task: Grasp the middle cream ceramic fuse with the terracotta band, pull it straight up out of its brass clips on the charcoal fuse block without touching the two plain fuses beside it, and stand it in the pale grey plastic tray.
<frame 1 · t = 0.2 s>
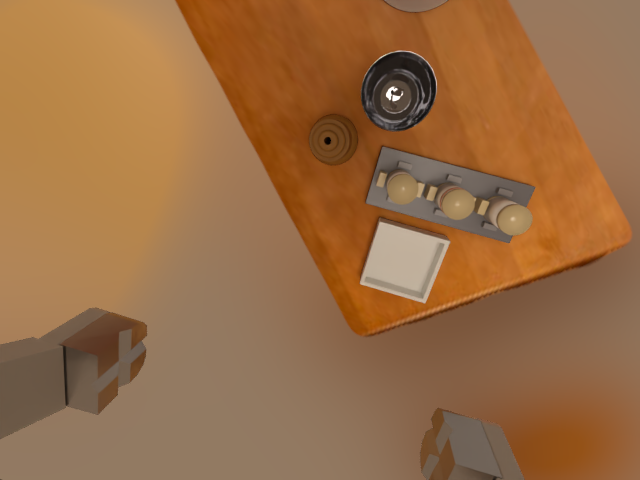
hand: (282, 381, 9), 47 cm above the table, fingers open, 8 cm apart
fuse block: (444, 193, 52), on the table
ornamental finial: (334, 140, 53), on the table
tray: (401, 257, 56), on the table
marked fuse: (446, 195, 51), point 1 cm above the table, touching fuse block
wine glass: (391, 105, 50), on the table
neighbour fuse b: (495, 208, 50), point 1 cm above the table, touching fuse block
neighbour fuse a: (398, 182, 51), point 1 cm above the table, touching fuse block
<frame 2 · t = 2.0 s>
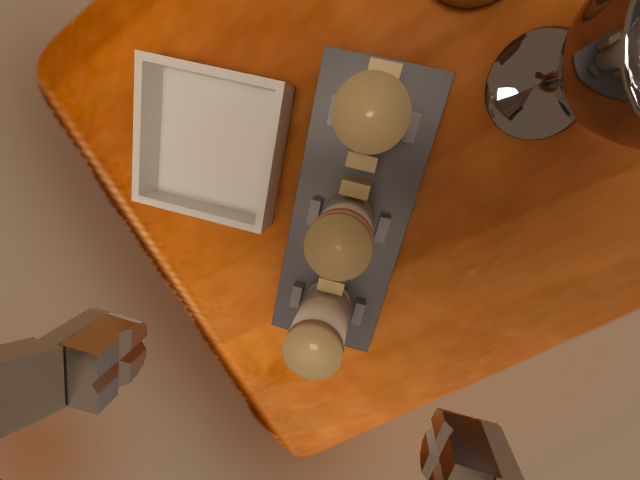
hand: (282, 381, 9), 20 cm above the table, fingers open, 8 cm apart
fuse block: (350, 214, 28), on the table
tray: (219, 145, 28), on the table
marked fuse: (348, 218, 26), point 1 cm above the table, touching fuse block
wine glass: (539, 86, 23), on the table
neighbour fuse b: (328, 300, 29), point 1 cm above the table, touching fuse block
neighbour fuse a: (373, 119, 24), point 1 cm above the table, touching fuse block
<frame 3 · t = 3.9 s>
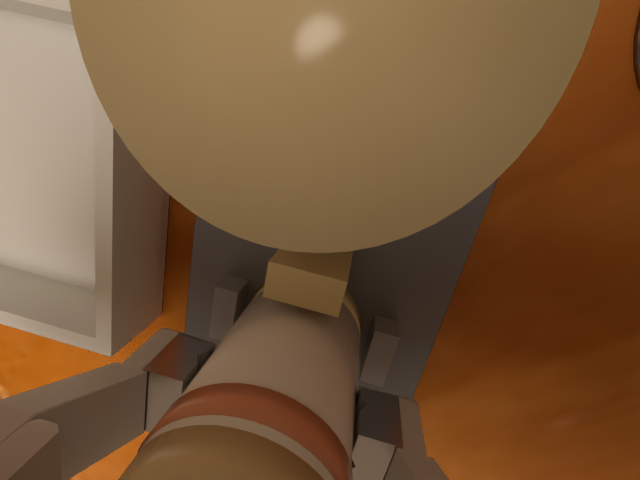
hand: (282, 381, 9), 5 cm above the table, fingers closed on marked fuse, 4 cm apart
fuse block: (312, 301, 13), on the table
tray: (40, 159, 13), on the table
marked fuse: (305, 321, 12), point 1 cm above the table, touching fuse block, gripper
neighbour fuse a: (356, 101, 10), point 2 cm above the table, touching fuse block
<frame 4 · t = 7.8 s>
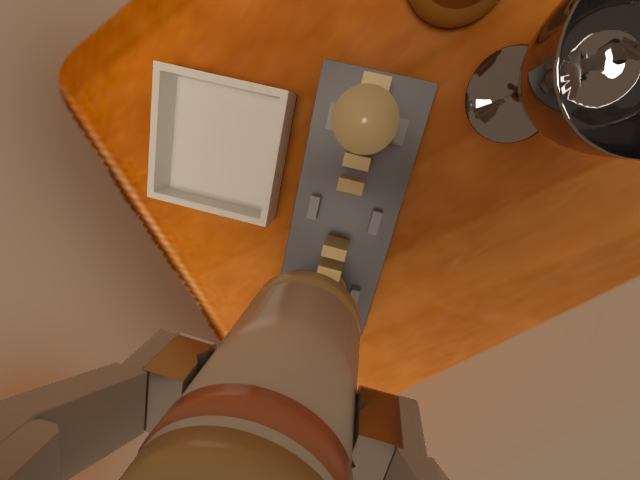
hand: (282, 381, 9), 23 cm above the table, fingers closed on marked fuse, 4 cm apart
fuse block: (346, 209, 31), on the table
tray: (227, 146, 31), on the table
marked fuse: (305, 321, 12), point 20 cm above the table, touching gripper
wine glass: (512, 95, 26), on the table
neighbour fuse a: (366, 124, 27), point 2 cm above the table, touching fuse block
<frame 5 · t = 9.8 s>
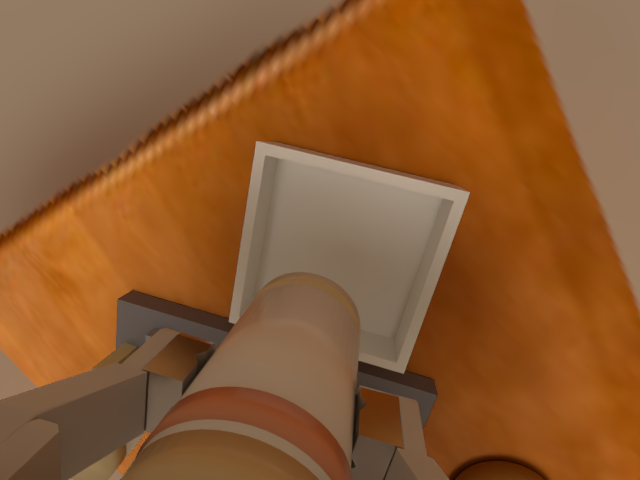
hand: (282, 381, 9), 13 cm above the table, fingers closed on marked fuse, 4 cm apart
fuse block: (266, 382, 26), on the table
tray: (340, 248, 22), on the table
marked fuse: (304, 323, 12), point 10 cm above the table, touching gripper
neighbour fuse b: (164, 366, 25), point 1 cm above the table, touching fuse block
when the fingers open (5 cm above the table, at t = 11.6 s): marked fuse moves 1 cm, resting on tray.
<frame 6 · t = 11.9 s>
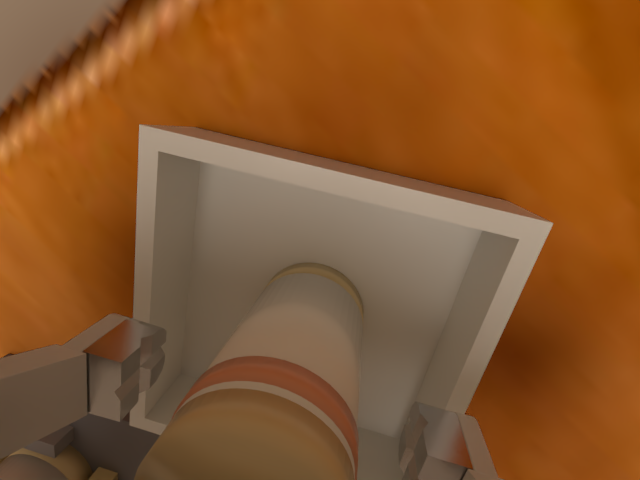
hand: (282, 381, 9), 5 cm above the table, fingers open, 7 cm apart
tray: (312, 301, 13), on the table
marked fuse: (311, 310, 13), point 1 cm above the table, touching tray
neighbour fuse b: (57, 466, 17), point 1 cm above the table, touching fuse block
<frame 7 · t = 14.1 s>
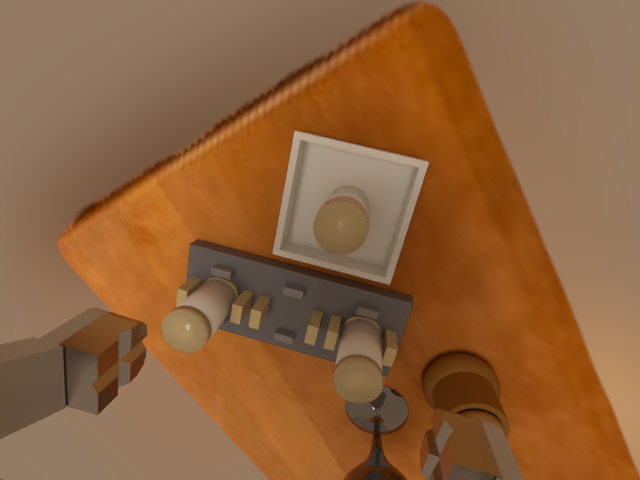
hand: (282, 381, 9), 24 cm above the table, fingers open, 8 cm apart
fuse block: (293, 304, 36), on the table
ornamental finial: (457, 377, 36), on the table
tray: (347, 204, 32), on the table
marked fuse: (347, 207, 31), point 1 cm above the table, touching tray
wine glass: (376, 408, 38), on the table
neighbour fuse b: (222, 292, 35), point 1 cm above the table, touching fuse block
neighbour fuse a: (361, 331, 34), point 2 cm above the table, touching fuse block
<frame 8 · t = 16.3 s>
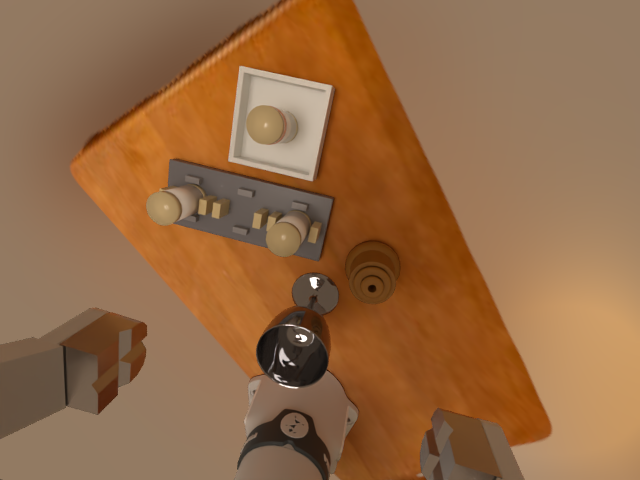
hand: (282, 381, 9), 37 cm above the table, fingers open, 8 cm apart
fuse block: (248, 208, 47), on the table
ornamental finial: (372, 263, 47), on the table
tray: (283, 126, 43), on the table
marked fuse: (283, 127, 43), point 1 cm above the table, touching tray
wine glass: (315, 294, 50), on the table
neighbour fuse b: (194, 198, 46), point 1 cm above the table, touching fuse block
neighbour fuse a: (297, 224, 45), point 2 cm above the table, touching fuse block
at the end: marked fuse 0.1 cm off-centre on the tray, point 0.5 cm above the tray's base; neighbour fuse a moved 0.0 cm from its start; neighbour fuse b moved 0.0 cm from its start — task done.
